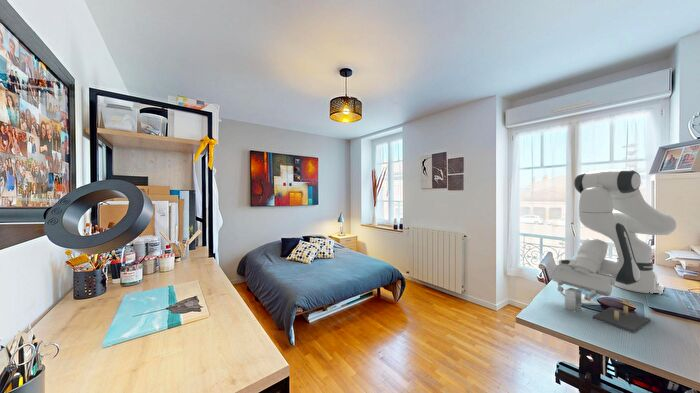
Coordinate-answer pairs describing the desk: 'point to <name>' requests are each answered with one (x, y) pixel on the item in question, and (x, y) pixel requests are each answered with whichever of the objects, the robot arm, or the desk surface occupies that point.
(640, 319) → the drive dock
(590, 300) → the external hard drive
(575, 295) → the clear tall piece
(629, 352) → the desk surface
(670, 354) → the desk surface
